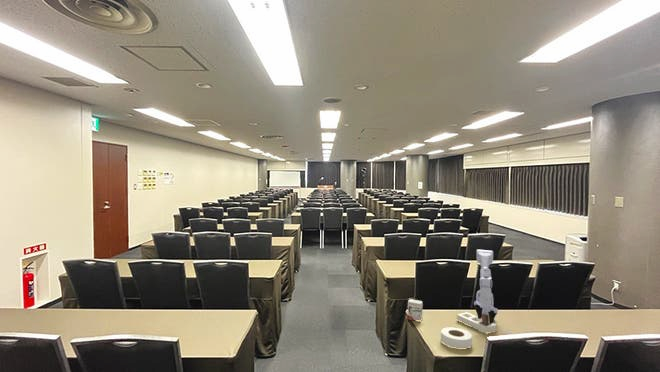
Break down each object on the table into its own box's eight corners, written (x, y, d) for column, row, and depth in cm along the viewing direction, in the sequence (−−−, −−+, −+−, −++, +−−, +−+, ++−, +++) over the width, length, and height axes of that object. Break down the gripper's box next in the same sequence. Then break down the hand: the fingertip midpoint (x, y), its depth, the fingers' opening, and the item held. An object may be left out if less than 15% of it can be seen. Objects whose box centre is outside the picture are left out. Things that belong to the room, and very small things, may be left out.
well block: (466, 318, 209) (466, 312, 209) (496, 331, 191) (496, 324, 191) (456, 320, 205) (456, 314, 205) (486, 334, 187) (486, 327, 187)
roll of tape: (436, 337, 184) (436, 327, 184) (462, 336, 185) (462, 326, 185) (448, 351, 168) (448, 340, 168) (477, 350, 169) (477, 339, 169)
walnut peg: (484, 326, 194) (484, 313, 194) (489, 328, 191) (489, 315, 191) (480, 327, 193) (480, 314, 193) (485, 330, 190) (485, 316, 190)
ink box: (407, 319, 207) (407, 301, 207) (409, 316, 211) (409, 298, 211) (420, 322, 203) (421, 303, 203) (422, 319, 207) (422, 301, 207)
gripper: (470, 295, 197) (470, 317, 197) (492, 302, 184) (492, 326, 184) (478, 293, 200) (478, 315, 200) (500, 300, 187) (500, 324, 187)
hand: (485, 320), depth 192 cm, fingers open, 7 cm apart
